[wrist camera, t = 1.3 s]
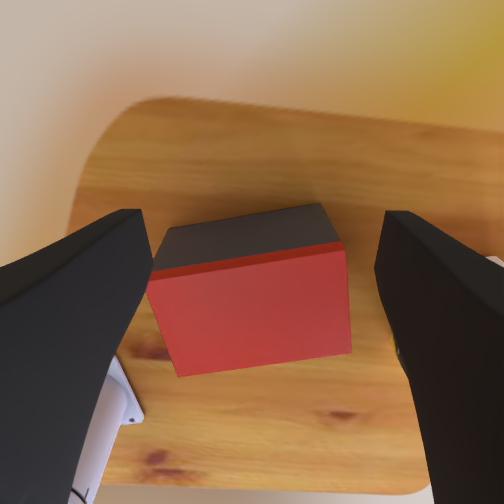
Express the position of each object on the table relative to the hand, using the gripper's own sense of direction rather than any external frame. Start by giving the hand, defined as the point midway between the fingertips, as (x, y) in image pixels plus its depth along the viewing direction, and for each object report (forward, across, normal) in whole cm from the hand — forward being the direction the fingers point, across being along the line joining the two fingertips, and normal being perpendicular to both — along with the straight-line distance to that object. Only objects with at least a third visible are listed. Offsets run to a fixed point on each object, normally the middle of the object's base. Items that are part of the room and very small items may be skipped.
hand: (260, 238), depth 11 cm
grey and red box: (+11, +1, +8) cm, 14 cm away
